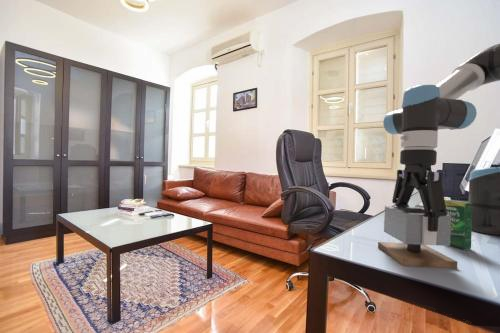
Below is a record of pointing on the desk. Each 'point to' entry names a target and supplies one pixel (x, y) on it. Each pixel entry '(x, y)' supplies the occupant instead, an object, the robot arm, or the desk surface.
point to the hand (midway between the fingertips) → (414, 237)
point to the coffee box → (460, 223)
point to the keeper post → (416, 255)
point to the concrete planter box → (413, 225)
